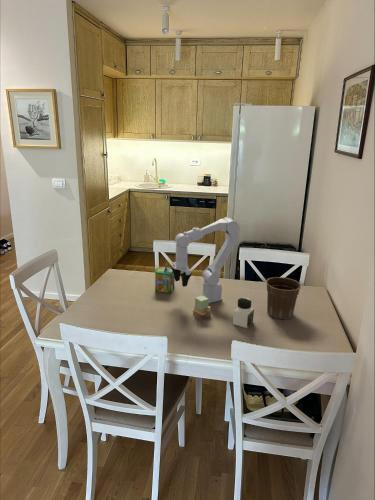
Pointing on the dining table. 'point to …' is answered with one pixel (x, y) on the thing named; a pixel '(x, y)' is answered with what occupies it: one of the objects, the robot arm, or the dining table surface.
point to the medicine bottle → (243, 313)
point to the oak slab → (203, 311)
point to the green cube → (201, 302)
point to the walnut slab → (201, 315)
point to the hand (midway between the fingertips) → (181, 283)
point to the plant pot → (281, 297)
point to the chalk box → (164, 280)
